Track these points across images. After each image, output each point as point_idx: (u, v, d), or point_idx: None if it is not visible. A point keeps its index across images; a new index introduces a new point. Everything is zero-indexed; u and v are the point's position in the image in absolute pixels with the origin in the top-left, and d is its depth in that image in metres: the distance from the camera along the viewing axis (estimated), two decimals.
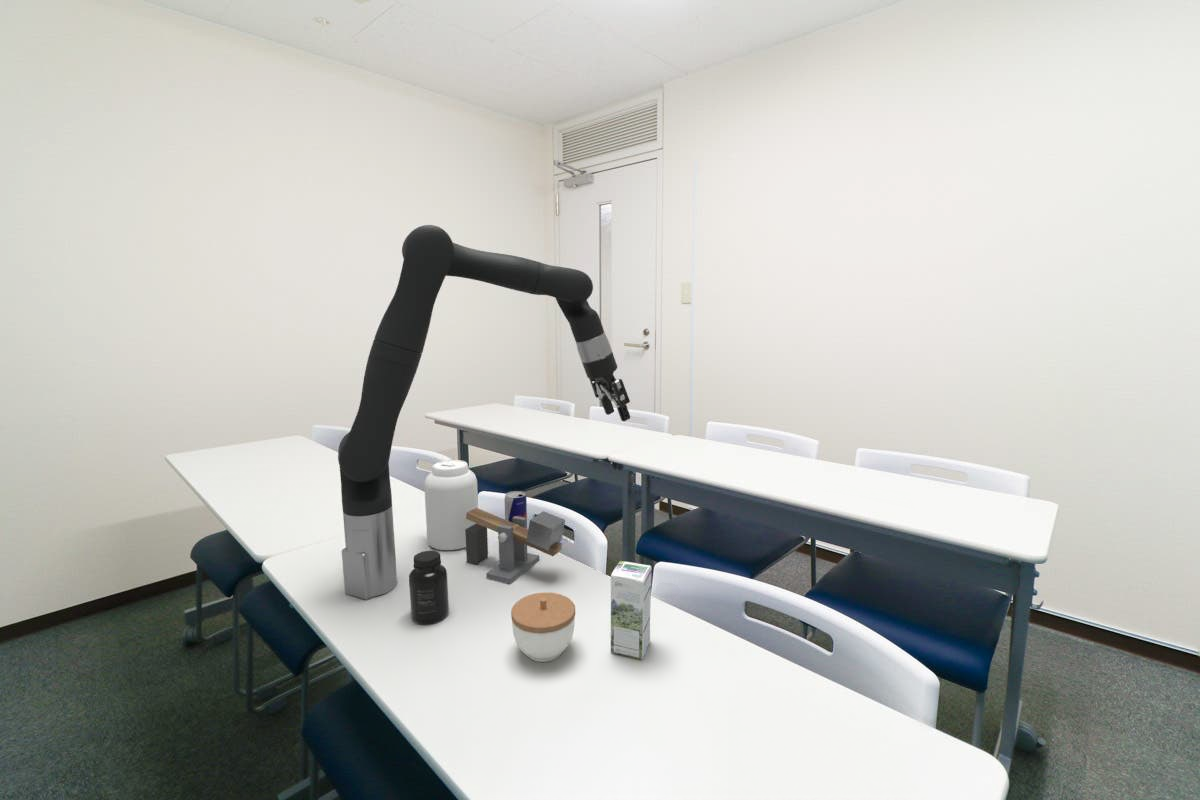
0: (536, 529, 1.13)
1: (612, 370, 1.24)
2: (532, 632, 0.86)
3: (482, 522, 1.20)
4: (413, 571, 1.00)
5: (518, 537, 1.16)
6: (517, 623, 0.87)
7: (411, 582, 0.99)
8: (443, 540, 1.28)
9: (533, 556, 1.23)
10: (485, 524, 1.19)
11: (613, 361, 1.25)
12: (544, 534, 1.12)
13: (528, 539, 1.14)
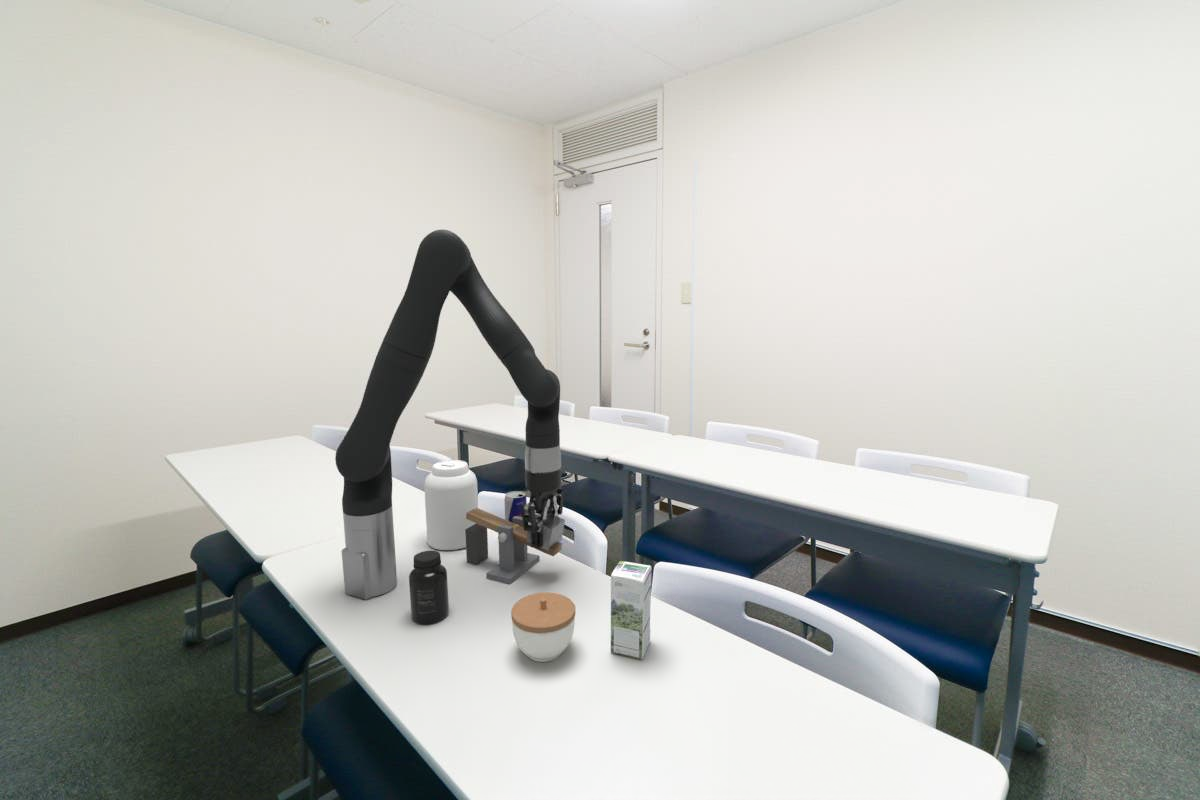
0: None
1: (538, 490, 1.10)
2: (532, 632, 0.86)
3: (482, 522, 1.20)
4: (413, 571, 1.00)
5: (518, 537, 1.16)
6: (517, 623, 0.87)
7: (411, 582, 0.99)
8: (443, 540, 1.28)
9: (533, 556, 1.23)
10: (485, 524, 1.19)
11: (545, 482, 1.09)
12: (544, 534, 1.12)
13: (528, 539, 1.14)
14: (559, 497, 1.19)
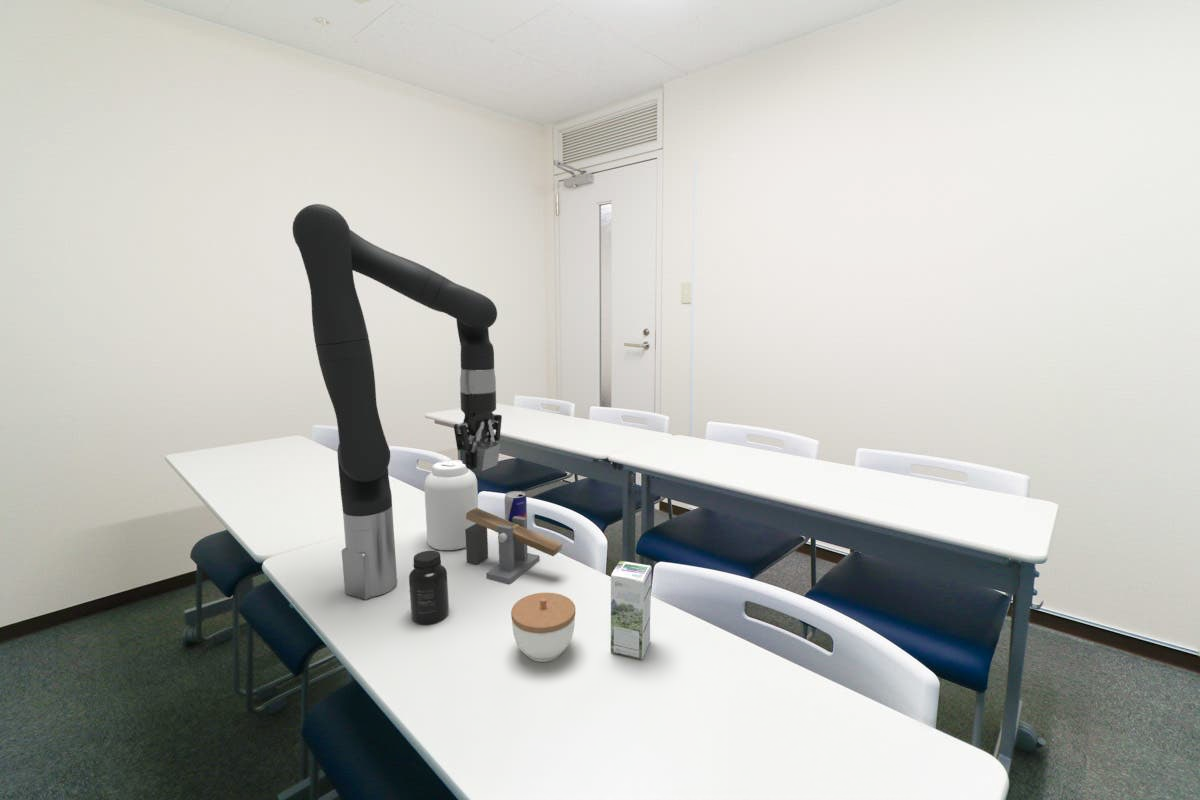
0: None
1: (472, 410, 1.14)
2: (532, 632, 0.86)
3: (482, 522, 1.20)
4: (413, 571, 1.00)
5: (518, 537, 1.16)
6: (517, 623, 0.87)
7: (411, 582, 0.99)
8: (443, 540, 1.28)
9: (533, 556, 1.23)
10: (485, 524, 1.19)
11: (478, 403, 1.14)
12: (478, 455, 1.16)
13: (463, 461, 1.18)
14: (496, 424, 1.23)
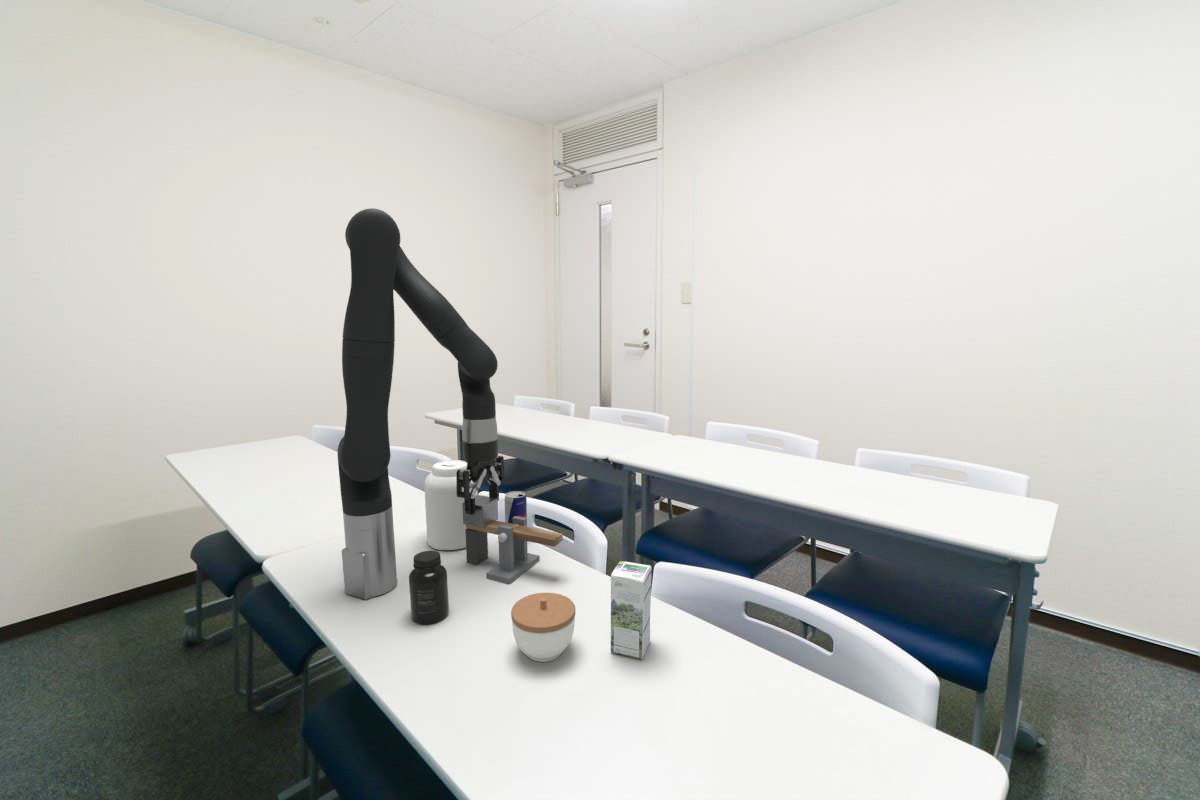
0: None
1: (474, 459, 1.16)
2: (532, 632, 0.86)
3: (482, 528, 1.20)
4: (413, 571, 1.00)
5: (518, 535, 1.16)
6: (517, 623, 0.87)
7: (411, 582, 0.99)
8: (443, 540, 1.28)
9: (533, 556, 1.23)
10: (485, 529, 1.20)
11: (480, 452, 1.15)
12: (477, 513, 1.18)
13: (464, 521, 1.20)
14: (499, 465, 1.25)
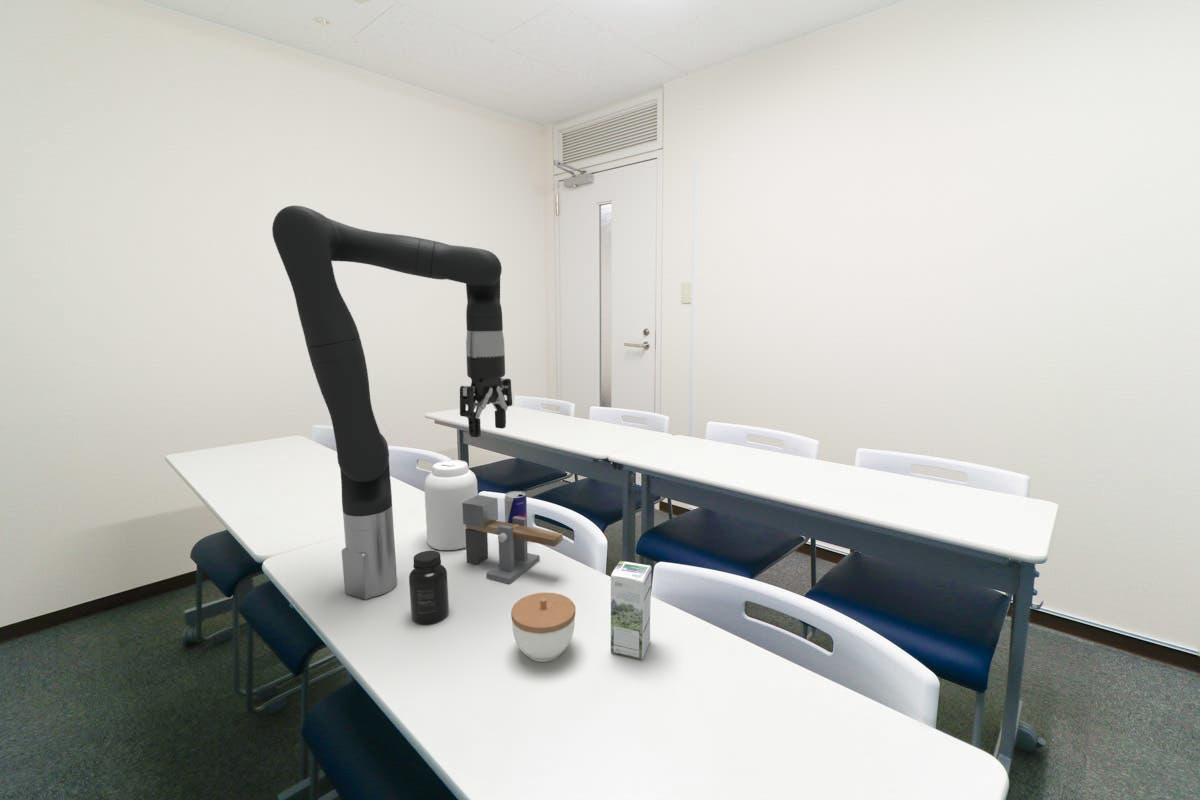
0: (469, 510, 1.19)
1: (479, 375, 1.05)
2: (532, 632, 0.86)
3: (482, 528, 1.20)
4: (413, 571, 1.00)
5: (518, 535, 1.16)
6: (517, 623, 0.87)
7: (411, 582, 0.99)
8: (443, 540, 1.28)
9: (533, 556, 1.23)
10: (485, 529, 1.20)
11: (486, 367, 1.05)
12: (477, 513, 1.18)
13: (464, 521, 1.20)
14: (506, 389, 1.15)
